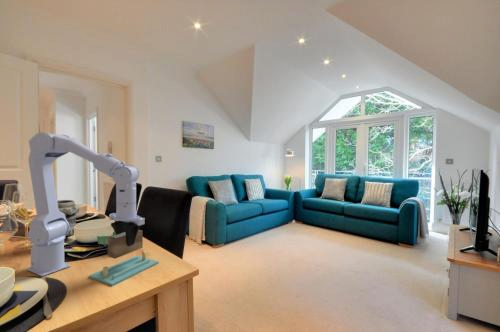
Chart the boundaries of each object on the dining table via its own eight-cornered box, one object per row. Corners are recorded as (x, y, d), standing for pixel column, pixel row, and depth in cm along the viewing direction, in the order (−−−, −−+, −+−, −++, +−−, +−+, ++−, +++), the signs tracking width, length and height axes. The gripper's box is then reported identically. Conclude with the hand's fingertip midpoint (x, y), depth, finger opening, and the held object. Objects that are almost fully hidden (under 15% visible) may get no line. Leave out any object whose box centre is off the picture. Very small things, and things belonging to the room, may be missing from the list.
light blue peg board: (89, 277, 73) (89, 265, 73) (136, 257, 89) (136, 247, 88) (112, 286, 68) (112, 273, 68) (158, 263, 84) (158, 253, 84)
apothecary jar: (83, 243, 101) (82, 201, 100) (46, 251, 92) (45, 205, 91) (75, 237, 109) (74, 197, 108) (40, 244, 100) (39, 201, 99)
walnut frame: (107, 256, 74) (107, 236, 74) (135, 246, 83) (135, 228, 83) (115, 258, 73) (114, 238, 73) (142, 247, 82) (142, 230, 82)
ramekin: (126, 240, 106) (126, 230, 106) (109, 248, 97) (109, 237, 97) (108, 238, 108) (108, 229, 108) (91, 245, 99) (91, 235, 99)
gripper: (100, 202, 77) (100, 244, 78) (130, 207, 71) (130, 252, 72) (120, 199, 84) (120, 237, 84) (150, 203, 77) (149, 244, 78)
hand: (126, 243), depth 78 cm, fingers closed on walnut frame, 3 cm apart
